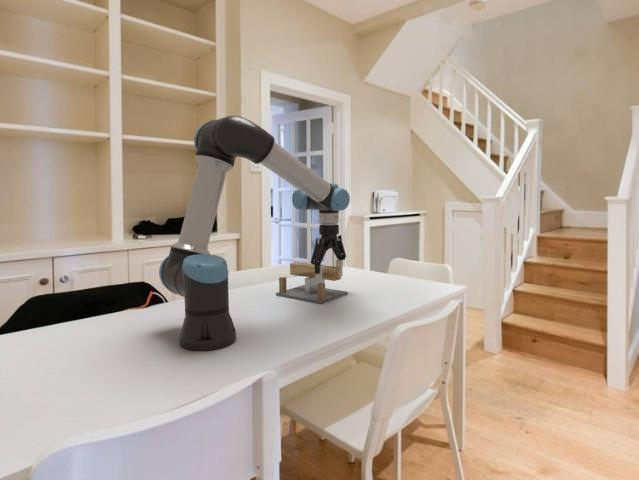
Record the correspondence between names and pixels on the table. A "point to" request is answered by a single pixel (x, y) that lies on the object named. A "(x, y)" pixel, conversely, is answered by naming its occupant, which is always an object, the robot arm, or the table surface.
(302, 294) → the board
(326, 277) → the oak batten
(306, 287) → the ridge
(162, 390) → the table surface
